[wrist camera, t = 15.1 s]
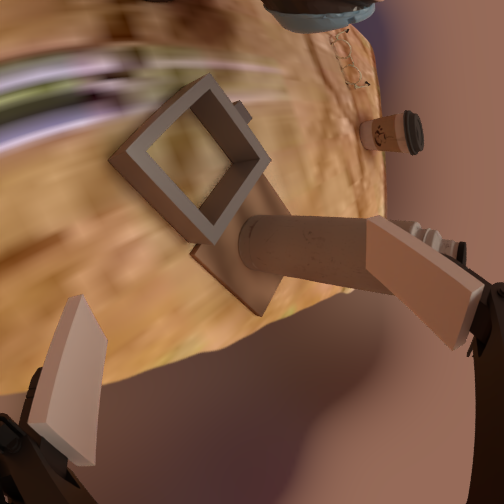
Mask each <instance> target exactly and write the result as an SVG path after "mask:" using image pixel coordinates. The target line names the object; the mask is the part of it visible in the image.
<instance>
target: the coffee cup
mask: <svg viewBox="0 0 504 504" xmlns="http://www.w3.org/2000/svg"><path fill="white" fill-rule="evenodd" d="M360 138H361V142H362V144H363V146H364V148H365V149H369V150H378V151H390V152H402V153H410V154H411V155H416V154H418V152H419V151H422V150H423V147H424V136H423V129H422V124H421V121H420V118H419V116H418V115H417V114H414V113H412V112H411V111H407V110H405V111H404V113H400V114H395V115H391V116H387V117H382V118H378V119H374V120H370V121H366V122H364V123H362V124H361V126H360Z"/></svg>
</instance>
